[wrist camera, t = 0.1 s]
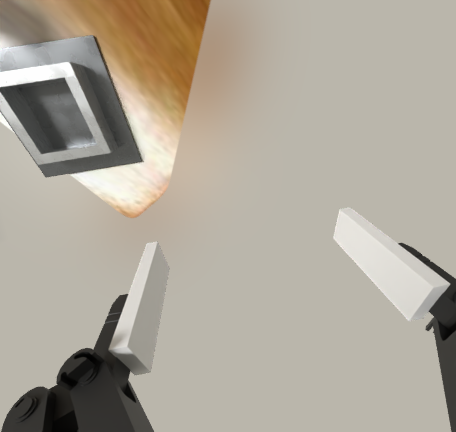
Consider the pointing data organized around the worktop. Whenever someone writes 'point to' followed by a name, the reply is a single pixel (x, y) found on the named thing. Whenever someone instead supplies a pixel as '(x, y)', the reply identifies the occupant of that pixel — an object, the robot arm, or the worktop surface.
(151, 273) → the robot arm
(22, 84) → the socket holder
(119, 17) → the worktop surface
